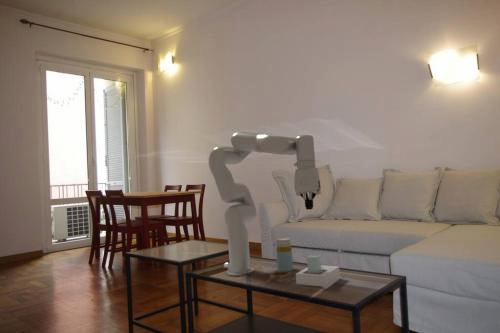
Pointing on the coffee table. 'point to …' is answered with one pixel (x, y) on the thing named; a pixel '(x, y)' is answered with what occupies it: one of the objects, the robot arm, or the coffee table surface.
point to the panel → (319, 277)
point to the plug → (314, 264)
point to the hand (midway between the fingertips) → (309, 209)
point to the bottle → (284, 255)
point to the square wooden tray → (280, 277)
